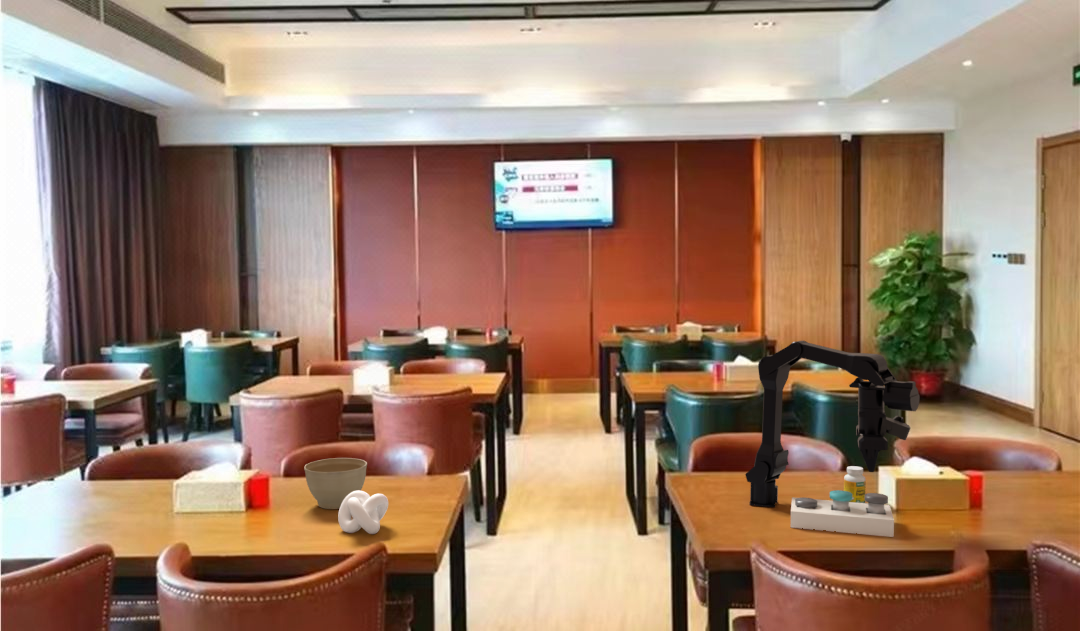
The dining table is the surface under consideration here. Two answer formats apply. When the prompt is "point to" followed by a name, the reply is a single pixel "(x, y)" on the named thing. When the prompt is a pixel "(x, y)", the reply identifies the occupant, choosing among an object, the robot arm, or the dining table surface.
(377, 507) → the white knot sculpture
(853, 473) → the supplement bottle
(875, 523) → the knob mount
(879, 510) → the knob
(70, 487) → the dining table surface
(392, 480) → the dining table surface
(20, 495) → the dining table surface
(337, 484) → the planter bowl
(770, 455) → the robot arm
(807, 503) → the knob
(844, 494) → the middle knob
